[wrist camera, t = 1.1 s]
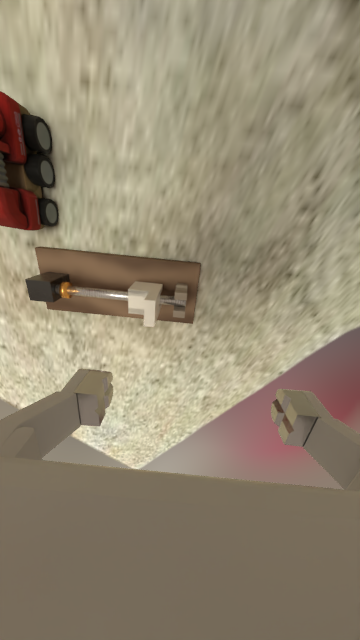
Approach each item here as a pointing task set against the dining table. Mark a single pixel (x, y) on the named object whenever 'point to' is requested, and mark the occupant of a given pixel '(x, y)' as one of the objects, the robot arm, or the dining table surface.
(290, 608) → the robot arm
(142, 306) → the sleeve
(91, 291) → the rod
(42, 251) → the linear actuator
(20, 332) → the dining table surface
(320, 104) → the dining table surface
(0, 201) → the toy fire truck
